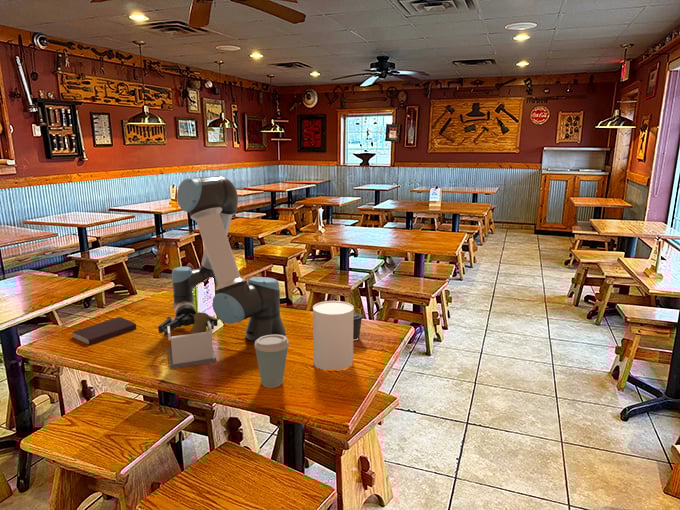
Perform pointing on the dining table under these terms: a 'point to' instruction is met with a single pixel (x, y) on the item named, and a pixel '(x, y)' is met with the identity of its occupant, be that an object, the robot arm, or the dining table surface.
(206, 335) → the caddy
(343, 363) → the canister
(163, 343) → the dining table surface
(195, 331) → the cork
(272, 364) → the disposable coffee cup
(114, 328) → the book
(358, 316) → the coffee cup
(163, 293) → the dining table surface
